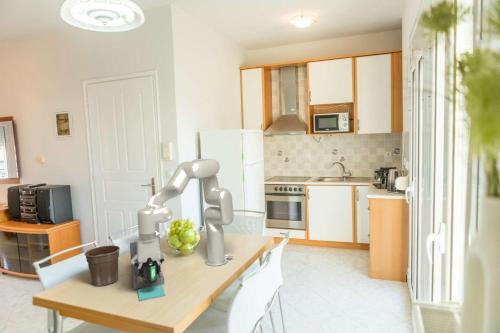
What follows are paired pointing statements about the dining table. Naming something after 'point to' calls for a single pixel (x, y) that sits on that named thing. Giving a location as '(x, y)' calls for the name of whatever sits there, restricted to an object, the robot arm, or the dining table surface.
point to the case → (136, 272)
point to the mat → (151, 292)
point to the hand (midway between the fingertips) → (149, 274)
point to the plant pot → (103, 264)
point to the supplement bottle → (149, 272)
